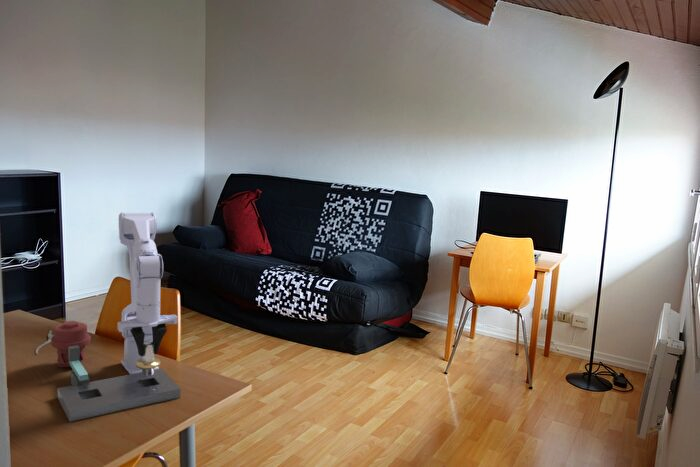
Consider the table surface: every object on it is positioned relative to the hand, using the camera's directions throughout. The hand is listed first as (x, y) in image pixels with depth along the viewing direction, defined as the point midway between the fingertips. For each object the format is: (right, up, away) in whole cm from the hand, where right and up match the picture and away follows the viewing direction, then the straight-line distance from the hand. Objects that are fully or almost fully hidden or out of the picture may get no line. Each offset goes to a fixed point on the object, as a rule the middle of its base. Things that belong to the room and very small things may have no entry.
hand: (148, 353), depth 151 cm
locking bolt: (-19, -5, +3) cm, 20 cm away
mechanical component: (-26, -6, +15) cm, 31 cm away
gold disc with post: (0, -5, +1) cm, 5 cm away
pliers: (-40, -3, +29) cm, 50 cm away
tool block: (-8, -10, 0) cm, 13 cm away
